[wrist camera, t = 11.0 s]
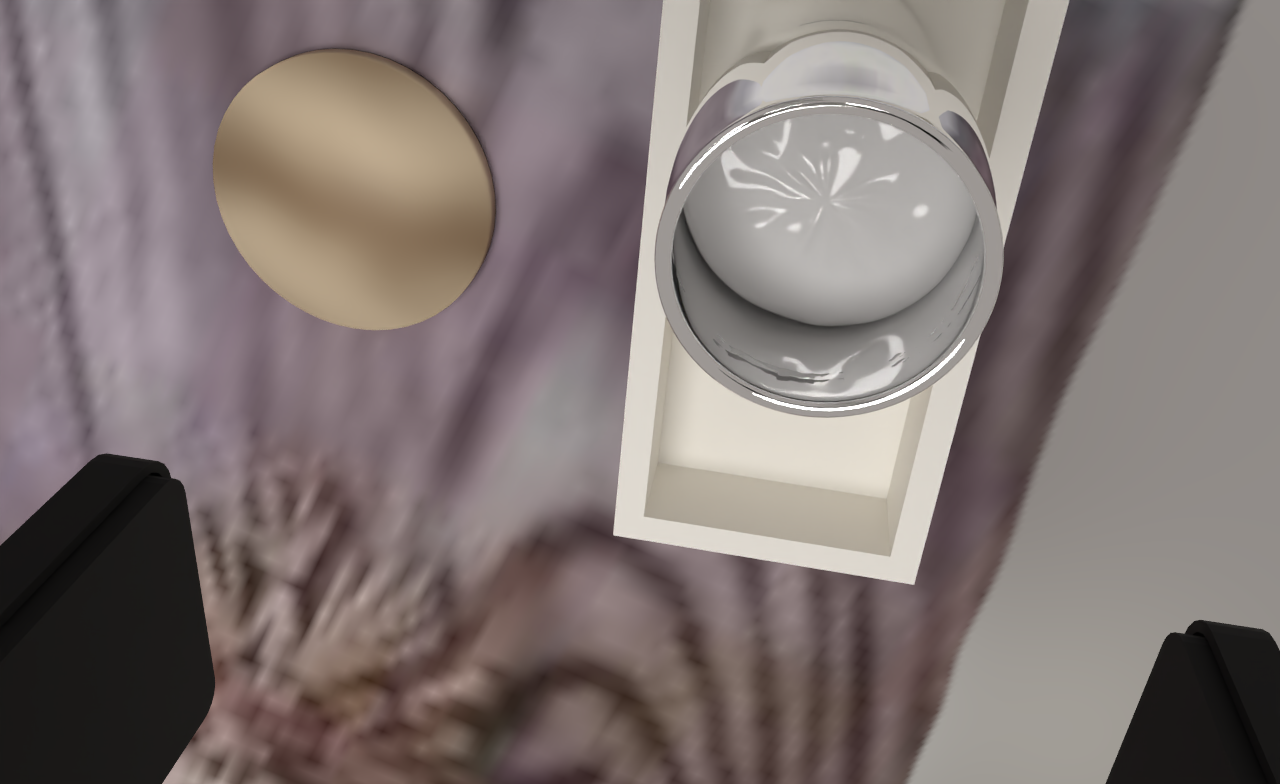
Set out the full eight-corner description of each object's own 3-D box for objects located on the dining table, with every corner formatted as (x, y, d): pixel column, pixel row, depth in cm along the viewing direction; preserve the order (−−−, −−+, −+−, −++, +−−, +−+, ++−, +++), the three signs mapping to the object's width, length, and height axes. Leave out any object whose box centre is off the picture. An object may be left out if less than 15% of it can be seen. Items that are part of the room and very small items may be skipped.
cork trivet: (209, 31, 38) (198, 36, 37) (499, 68, 37) (492, 74, 36) (236, 300, 43) (227, 309, 42) (492, 338, 42) (486, 348, 41)
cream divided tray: (694, -130, 33) (673, -115, 29) (1056, -90, 32) (1087, -69, 28) (634, 463, 44) (613, 535, 39) (906, 506, 43) (914, 584, 39)
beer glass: (811, -91, 32) (788, 3, 19) (1000, 54, 33) (1100, 236, 20) (674, 106, 35) (575, 300, 22) (849, 232, 36) (852, 487, 23)
